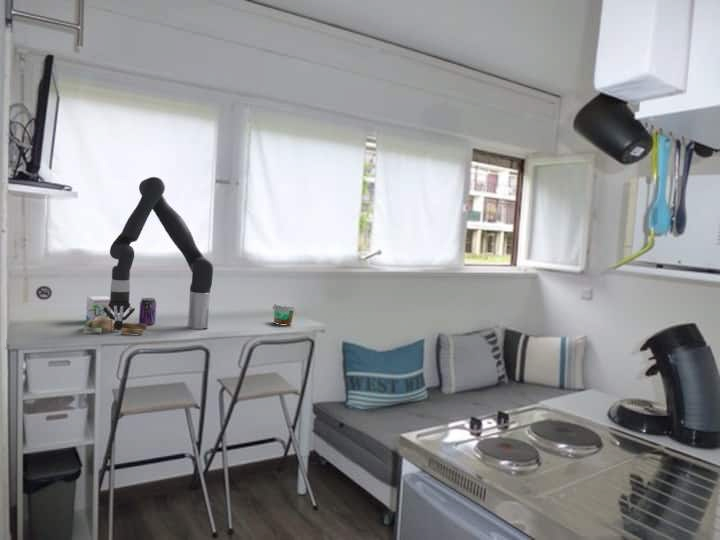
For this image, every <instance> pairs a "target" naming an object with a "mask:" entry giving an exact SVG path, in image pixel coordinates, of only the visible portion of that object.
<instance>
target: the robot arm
mask: <svg viewBox="0 0 720 540" xmlns="http://www.w3.org/2000/svg"><path fill="white" fill-rule="evenodd" d="M165 186H166V185H165V183H164V181H163V180H162V179H161V178H159V177H156V176H151V177H150V176H149V177H148V178H145V179H143V180H142V181H140V183H139V186H138V191H139V193H140V195H141V198H140V199H139V202H138V204H137V205H136V207H135V209H133V211H132V212H131V214H130V216H128V218H127V221H126V222H125V225H124V226H123V228H122V230H121V233H120V234H119V235H118V236H117V237H116V238H115V240H114V241H113V242H112V244H111V246H110V249H109V255H110V256H111V258H112V259H114V260H118V262H117V265H114V266H113V267H112V268H111V269H112V271H111V282H110V292H109V295H110V297H109V298H110V303H109V305H108V306H107V307H105V308H104V309H103V310H104V311H105V313H106V314H107V315H108V316H109V318H110V319H113V320H114V323H115V328H116V330H121V328H122V323H123V321H125V320H127V319H128V318H129V317H130V316H131V315H132V314H133V313H134V312H135V310H136V308H135V307H132V306H131V303H130V292H131V291H130V290H131V285H130V284H131V281H130V278H131V269H132V265H133V262H134V259H135V250H134V248H133V246H131V243H133V242H137V241H138V239H139V238H140V236H141V233H142V231H143V229H144V227H145V224H146V222H147V220H148V219H149V217H150V215H151V213H152V211H153V212H154V213H155V215H156V217H157V219H158V221H159V222H160V224H161V225H162V227H163V228H164V230H165V232H166V233H167V235H168V236H169V238H170V240H171V241H172V243H173V244H174V245H175V246H176V248H177V249H178V250H179V251H180V253H181V254H182V256H183V257H184V258H185V261H186V263H187V265H188V267H189V269H190V272H191V273H192V275H191V284H190V287H189V300H188V302H189V303H188V315H187V328H189V329H192V330H204V329H203V328H208V327H209V317H210V316H209V315H210V298H211V296H210V295H211V288H212V285H213V274H214V266H213V263H212V262H211V261H210V260H209V259H207V258H206V257H205V256H204V255H203V253H202V252H201V251H200V250H199V248H198V247H197V244H196V243H195V240H194V236H193V235H192V232H191V230H190V229H189V227H188V225H187V223H186V222H185V221H184V219H183V218H182V216H181V215H180V214H179V213H178V212H177V211H176V210H175V209H174V208H172V206H171V205H169V203H168V202H167V201H166V198H165V196H164V193H165V191H166V187H165ZM110 308H111V312H110ZM125 312H127V313H126V315H125V316H124V314H125Z"/></svg>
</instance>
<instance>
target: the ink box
mask: <svg viewBox="0 0 720 540" xmlns="http://www.w3.org/2000/svg"><path fill="white" fill-rule="evenodd" d="M109 303H110V297H109V296H107V295H102V296H101V295H100V296H99V295H96V296H95V295H92V296H87V299H86V316H85V317H86V318H85V321H86V322H87V321H88V320H90V319H93V320H94V319H95V318H96V317H97V318H109V316H108V315H107V314H106V313H105V311H104V310H103V309H104V308H105V307H107V306H108V305H109ZM110 312H111V313H112V310H111V308H110Z"/></svg>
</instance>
